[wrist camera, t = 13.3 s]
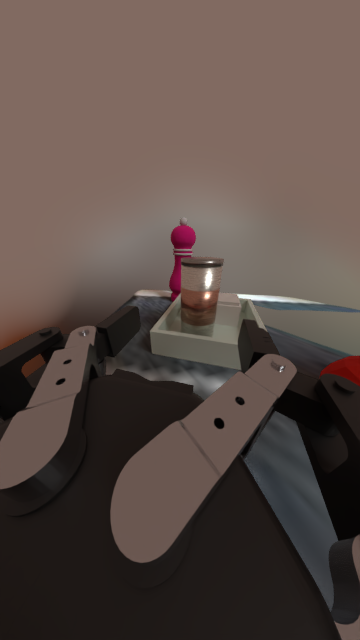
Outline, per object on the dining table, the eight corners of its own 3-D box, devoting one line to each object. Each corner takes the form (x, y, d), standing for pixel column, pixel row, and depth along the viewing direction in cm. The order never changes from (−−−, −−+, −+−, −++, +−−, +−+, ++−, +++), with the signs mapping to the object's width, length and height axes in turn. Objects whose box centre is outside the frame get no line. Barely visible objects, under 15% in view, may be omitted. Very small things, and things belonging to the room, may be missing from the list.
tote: (246, 315, 34) (250, 299, 32) (267, 375, 19) (277, 350, 17) (180, 308, 38) (180, 292, 36) (152, 353, 22) (149, 331, 20)
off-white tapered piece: (234, 313, 33) (238, 293, 31) (237, 326, 28) (242, 304, 25) (190, 308, 35) (191, 289, 33) (185, 320, 30) (186, 298, 28)
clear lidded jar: (213, 330, 26) (223, 257, 21) (212, 348, 22) (224, 261, 16) (183, 326, 28) (185, 256, 22) (176, 343, 23) (176, 259, 17)
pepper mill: (199, 301, 42) (205, 216, 32) (176, 306, 39) (176, 213, 29) (186, 294, 47) (189, 220, 38) (165, 297, 44) (163, 218, 35)
